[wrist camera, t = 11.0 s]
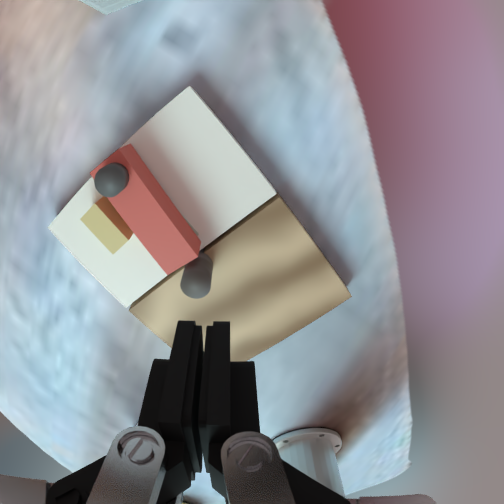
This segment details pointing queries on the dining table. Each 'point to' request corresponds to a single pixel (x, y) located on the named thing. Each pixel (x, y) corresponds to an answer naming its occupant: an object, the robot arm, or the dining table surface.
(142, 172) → the swing bar
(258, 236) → the tan wavy block
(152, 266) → the door
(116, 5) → the small box
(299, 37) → the dining table surface
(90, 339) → the dining table surface
